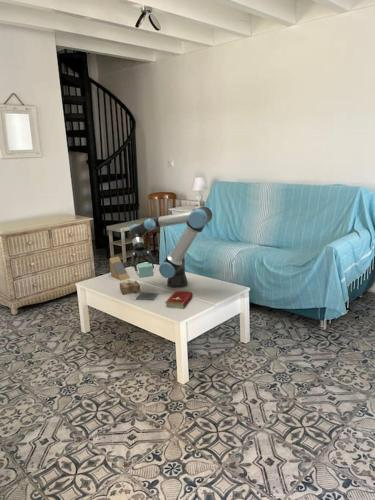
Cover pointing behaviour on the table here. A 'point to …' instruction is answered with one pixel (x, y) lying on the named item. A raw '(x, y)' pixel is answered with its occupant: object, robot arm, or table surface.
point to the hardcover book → (179, 299)
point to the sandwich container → (118, 269)
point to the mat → (146, 296)
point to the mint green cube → (145, 270)
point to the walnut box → (129, 287)
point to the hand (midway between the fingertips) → (145, 274)
